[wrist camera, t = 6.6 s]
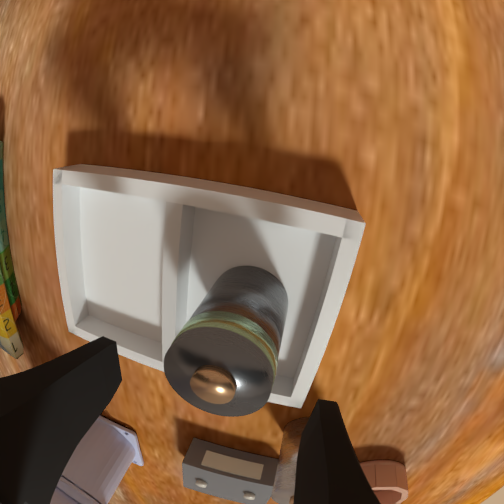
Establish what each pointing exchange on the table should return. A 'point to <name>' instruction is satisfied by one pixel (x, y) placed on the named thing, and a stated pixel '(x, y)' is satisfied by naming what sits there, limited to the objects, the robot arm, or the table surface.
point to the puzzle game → (7, 285)
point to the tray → (196, 260)
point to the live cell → (231, 344)
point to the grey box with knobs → (229, 473)
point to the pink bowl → (387, 480)
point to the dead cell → (288, 462)
